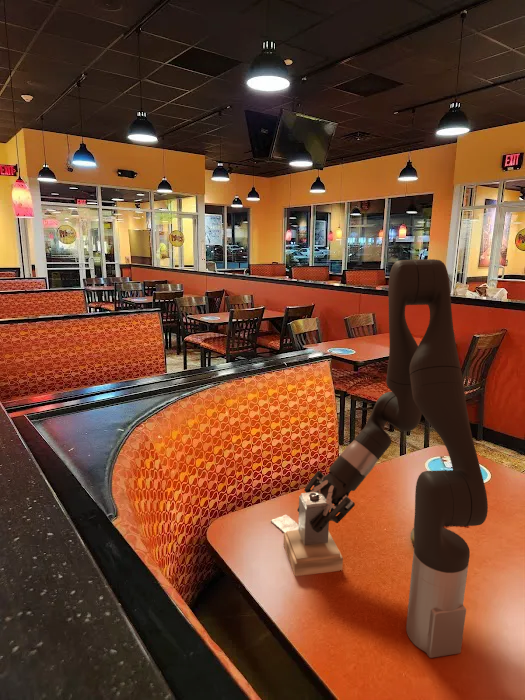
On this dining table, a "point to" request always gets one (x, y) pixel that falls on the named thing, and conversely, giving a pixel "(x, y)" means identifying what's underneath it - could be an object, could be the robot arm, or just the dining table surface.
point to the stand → (311, 555)
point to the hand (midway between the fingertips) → (307, 521)
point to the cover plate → (285, 523)
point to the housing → (311, 518)
